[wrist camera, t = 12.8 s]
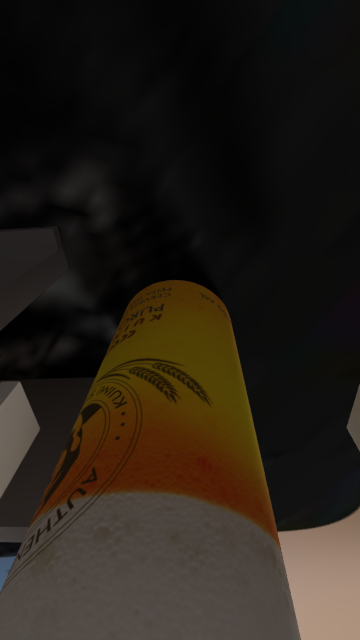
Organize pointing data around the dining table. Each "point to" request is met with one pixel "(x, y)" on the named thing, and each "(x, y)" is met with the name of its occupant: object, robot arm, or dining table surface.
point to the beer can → (157, 496)
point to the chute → (43, 394)
